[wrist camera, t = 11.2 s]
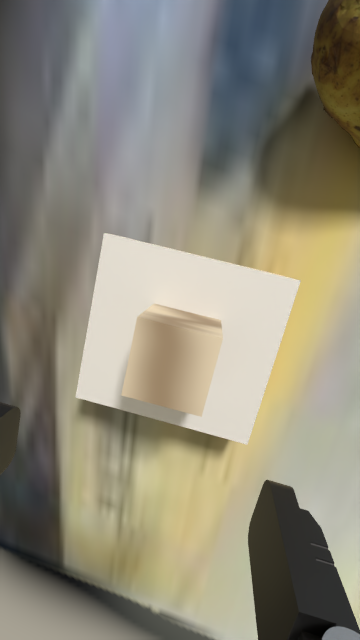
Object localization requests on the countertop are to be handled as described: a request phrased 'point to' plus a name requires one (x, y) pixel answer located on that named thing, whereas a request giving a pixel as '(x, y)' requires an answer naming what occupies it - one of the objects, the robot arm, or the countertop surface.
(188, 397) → the birch block
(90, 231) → the countertop surface
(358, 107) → the potato
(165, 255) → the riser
